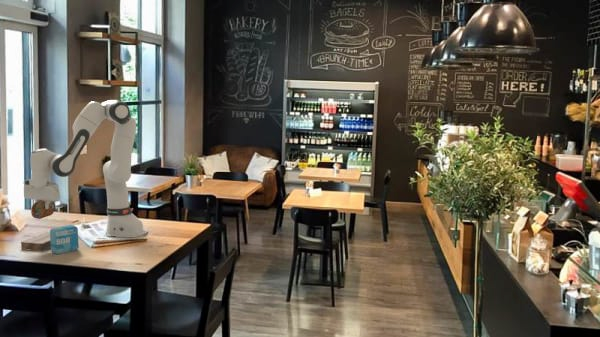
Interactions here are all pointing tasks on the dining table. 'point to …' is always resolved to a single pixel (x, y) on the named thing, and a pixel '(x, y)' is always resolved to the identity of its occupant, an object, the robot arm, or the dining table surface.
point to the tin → (42, 209)
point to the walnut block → (37, 242)
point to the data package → (64, 239)
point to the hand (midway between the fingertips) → (43, 208)
